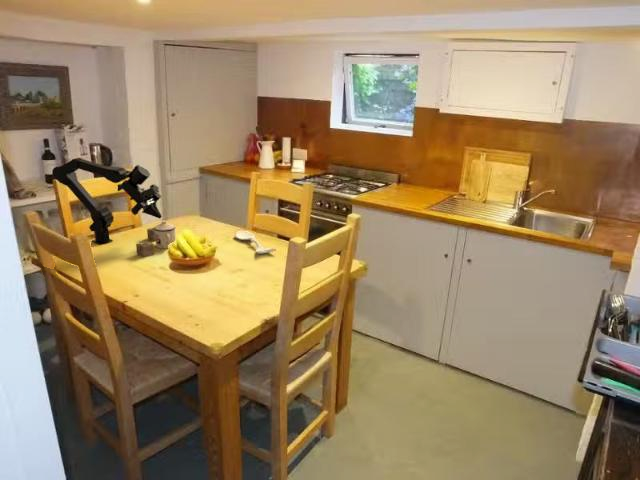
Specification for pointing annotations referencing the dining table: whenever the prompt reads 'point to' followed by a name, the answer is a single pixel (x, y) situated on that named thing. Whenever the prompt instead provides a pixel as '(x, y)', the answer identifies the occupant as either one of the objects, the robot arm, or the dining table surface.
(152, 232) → the walnut block three dots
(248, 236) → the spoon
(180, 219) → the dining table surface
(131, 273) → the dining table surface
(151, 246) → the walnut block two dots
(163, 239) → the teacup with lid
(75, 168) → the robot arm
